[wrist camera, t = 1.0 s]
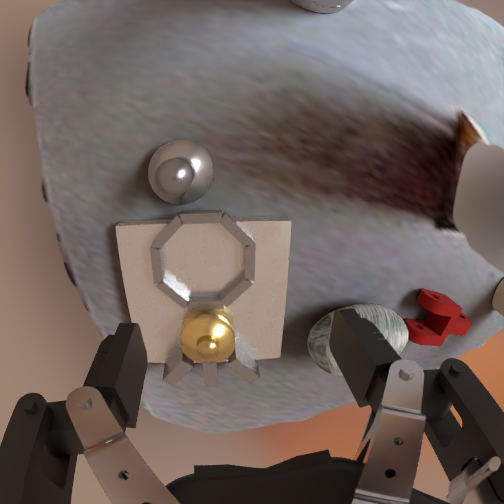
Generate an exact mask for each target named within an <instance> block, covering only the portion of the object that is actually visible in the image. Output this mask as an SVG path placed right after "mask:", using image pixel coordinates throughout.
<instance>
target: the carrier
mask: <svg viewBox="0 0 504 504" xmlns="http://www.w3.org/2000/svg"><path fill="white" fill-rule="evenodd" d="M115 227H116V236H117V243H118V251H119V257H120V264H121V270H122V276H123V282H124V287H125V293H126V298H127V303H128V307H129V312H130V317H131V321H132V323H138V324H139V326H140V329H141V333H142V337H143V341H144V344H145V348H146V352H147V359H148V363H166V364H165V367H164V374H163V381H164V382H166V383H168V384H170V385H172V386H174V385H175V384H176V383H178V382H179V381H180V380H181V379H182V378H183V377H184V376H185V375H186V374H187V373H188V372H189V371H190V370H191V369H192V368H193V367H194V363H202V365H203V373H204V381H205V387H218V374H217V363H218V362H226V366H227V367H228V368H230V369H231V370H232V371H234V372H235V373H236V374H238V375H239V376H240V377H242V378H243V379H245V380H246V381H247V382H249V383H252V382H253V381H255V380H257V379H258V378H260V374H259V369H258V365H257V361H256V360H258V359H270V358H280V354H281V345H282V335H283V324H284V313H285V302H286V290H287V277H288V264H289V250H290V235H291V220H290V219H289V218H288V217H287V216H257V217H230V216H229V215H228V214H227V213H226V212H224V213H223V214H222V210H204V211H181V213H180V214H179V213H178V214H177V215H176V216H175V217H174V218H173V219H152V220H132V221H121V222H119V223H118V224H117V225H116V226H115Z"/></svg>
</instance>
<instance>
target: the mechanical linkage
mask: <svg viewBox="0 0 504 504" xmlns="http://www.w3.org/2000/svg"><path fill="white" fill-rule="evenodd" d="M417 302H418V303H419V304H420V305H421V306H423V307H424V308H425V309H427V310H429V311H430V313H429V314H428V316H427V318H426V320H425V321H422V320H415V319H409V318H407V319H406V321H405V322H404V323H405V325H406V327H407V329H408V339H409V340H410V341H412V342H414V343H416V344H419V345H433V346H441V345H442V343H443V342H444V340H445V338H446V337H447V335H448V334H455V335H466V333H467V331H468V329H469V328H470V326H471V324H472V321H471V320H470V319H469V318H468V317H466V316H465V315H464V314H462V313H460V312H461V310H462V308H461V307H460V306H459V305H458V304H456V303H455V302H454V301H453V300H451V299H450V298H449V297H447V296H446V295H444V294H441V293H437V292H434V291H430V290H426V289H422V290H421V292H420V294H419V296H418V298H417Z"/></svg>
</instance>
